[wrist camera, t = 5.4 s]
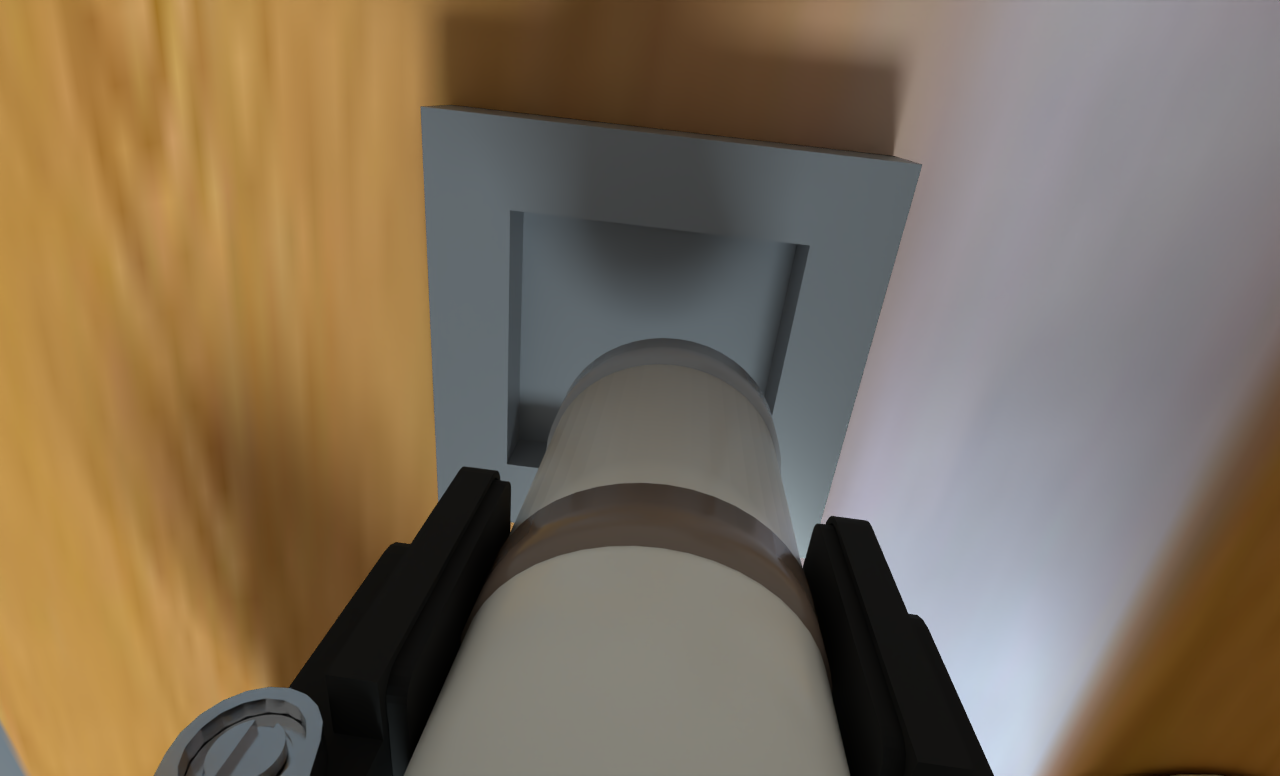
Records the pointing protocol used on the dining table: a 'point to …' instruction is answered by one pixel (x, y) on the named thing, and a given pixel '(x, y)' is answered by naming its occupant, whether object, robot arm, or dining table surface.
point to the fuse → (645, 595)
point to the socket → (648, 276)
